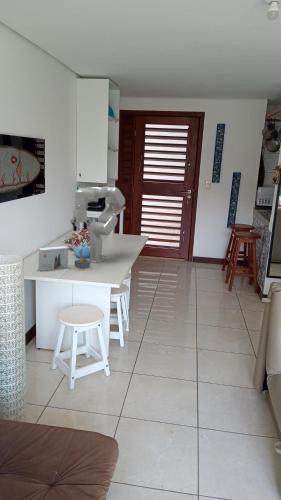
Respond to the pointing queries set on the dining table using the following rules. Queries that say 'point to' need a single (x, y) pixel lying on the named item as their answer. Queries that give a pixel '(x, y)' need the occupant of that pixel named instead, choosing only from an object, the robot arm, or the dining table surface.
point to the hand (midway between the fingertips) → (80, 230)
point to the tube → (82, 265)
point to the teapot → (82, 251)
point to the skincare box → (53, 258)
